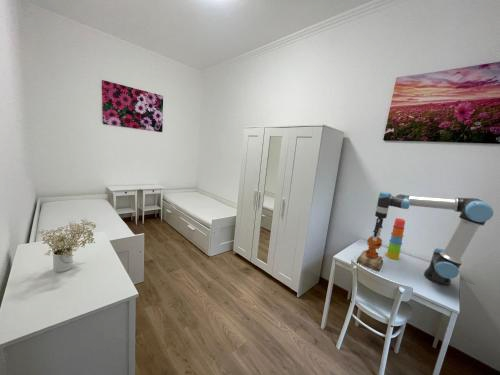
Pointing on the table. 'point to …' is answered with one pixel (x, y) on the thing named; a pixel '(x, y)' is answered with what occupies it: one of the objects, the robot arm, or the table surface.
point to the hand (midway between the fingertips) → (376, 237)
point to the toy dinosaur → (373, 247)
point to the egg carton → (370, 261)
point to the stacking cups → (396, 239)
